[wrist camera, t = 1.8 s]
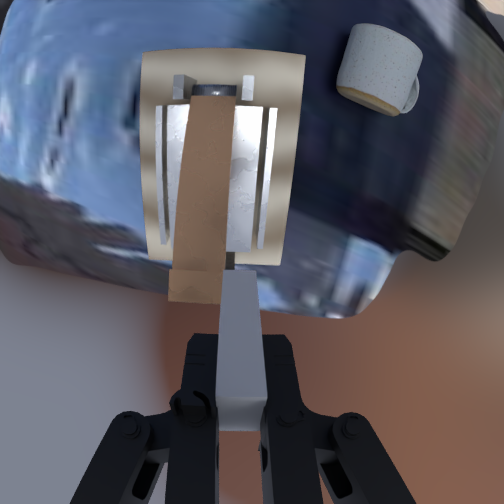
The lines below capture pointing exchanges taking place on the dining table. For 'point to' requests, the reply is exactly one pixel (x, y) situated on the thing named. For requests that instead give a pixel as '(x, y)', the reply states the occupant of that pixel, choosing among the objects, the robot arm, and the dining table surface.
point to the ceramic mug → (380, 70)
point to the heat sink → (242, 166)
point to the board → (264, 95)
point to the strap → (203, 196)
